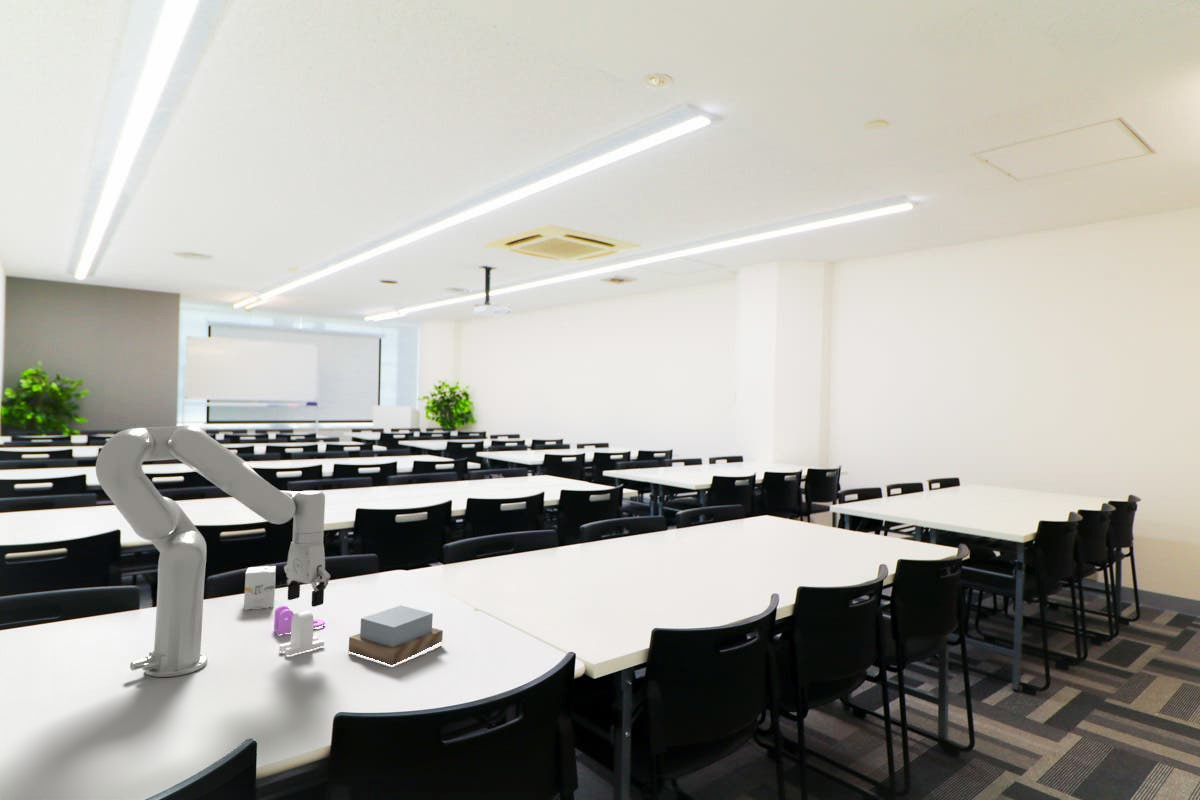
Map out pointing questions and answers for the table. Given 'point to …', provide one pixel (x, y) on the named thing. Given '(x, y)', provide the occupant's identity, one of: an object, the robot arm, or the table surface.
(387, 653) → the bottom block
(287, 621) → the bracket
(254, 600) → the ink box
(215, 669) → the table surface
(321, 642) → the white t-shaped block
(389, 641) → the top block
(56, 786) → the table surface
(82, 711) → the table surface
